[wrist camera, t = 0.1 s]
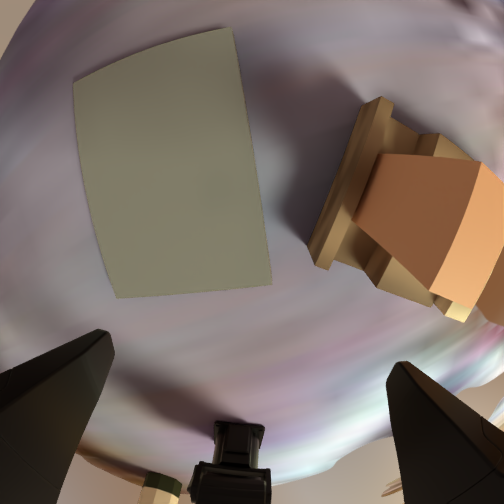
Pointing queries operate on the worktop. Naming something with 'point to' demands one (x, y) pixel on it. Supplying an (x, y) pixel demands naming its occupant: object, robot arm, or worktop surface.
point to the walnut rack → (350, 191)
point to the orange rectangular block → (436, 220)
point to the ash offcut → (453, 308)
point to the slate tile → (173, 170)
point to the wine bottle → (159, 490)
